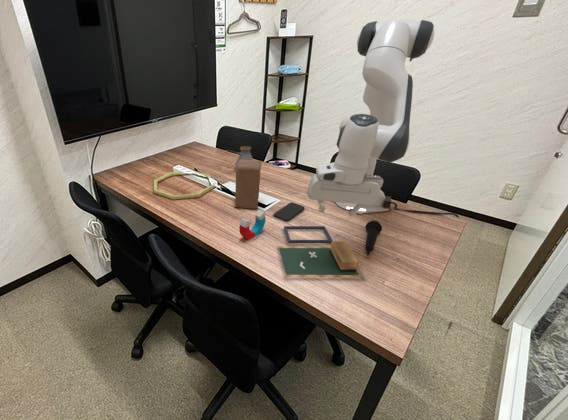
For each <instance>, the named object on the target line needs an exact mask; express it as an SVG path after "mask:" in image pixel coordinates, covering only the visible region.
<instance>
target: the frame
mask: <svg viewBox="0 0 568 420" xmlns="http://www.w3.org/2000/svg"><path fill="white" fill-rule="evenodd" d="M193 171H194V172H197V173H199V174H202V175H204V176H206V177H209V178H211V179H212V176H211V175H210V174H207V173H202V172H199V171H195V170H193ZM175 176H176V177H177V176H186V175H185V174H181V171H173V172H171V171H170V172H168V173H166V174H163V175H162V176H159V177H157V178H155V179H154V180H153V193H154V194H155V195H158V196H161V197H164V198H166V199H170V200H173V201H175V200H185V199H197V198H200V197H202V196H203V195H206V194H207V193H209V192H211V191H212V190H214V188H215V185H211V186H210V185H209V186H207V187H205V188H204V189H202V190H201V191H199V192H197V193H188V194H187V193H185V194H176V195H174V194H171V193H168V192H165V191H163V190H159V189H158V183H159V182H162V181H164V180H166V179H168V178H170V177H175Z"/></svg>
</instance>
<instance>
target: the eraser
mask: <svg viewBox="0 0 568 420" xmlns="http://www.w3.org/2000/svg"><path fill="white" fill-rule="evenodd" d="M329 247H330V250H329V251H330V253H331V255H332V257H333V259H334V261H335V263H336V265H337V267H338V269H339V271H340V272H356V269H357V267H358V265H359V261H358V259H357V257H356V255H355V254H354V252H353V251H352V249H351V248H350V246H349V244H348V243H347V241H333V242H331V243H330V246H329Z"/></svg>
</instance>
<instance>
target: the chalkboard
mask: <svg viewBox="0 0 568 420" xmlns="http://www.w3.org/2000/svg"><path fill="white" fill-rule="evenodd" d="M278 249H279V253H280V257H281V261H282V264H283V269H284V272H285V275H286V278H364V276H363V274H362V272H361V270H360V269H359V267H358V266H357V269H356V272H340V271H339V269H338V267H337V265H336V263H335V261H334V259H333V257H332V255H331V253H330V251H329V250H330V246H325V245H324V246H323V245H321V246H317V245H316V246H314V245H313V246H309V245H307V246H302V245H301V246H297V245H296V246H293V245H292V246H291V245H288V246H287V245H286V246H285V245H284V246H283V245H280V246H278ZM309 252H311V253H313V252H315V255H316V256H317V258H315V257H313V258H310V256H311V255H310V254H309ZM301 262H303V265H302V266H304V267H305V269H303V268H301V267H300V263H301Z"/></svg>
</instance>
